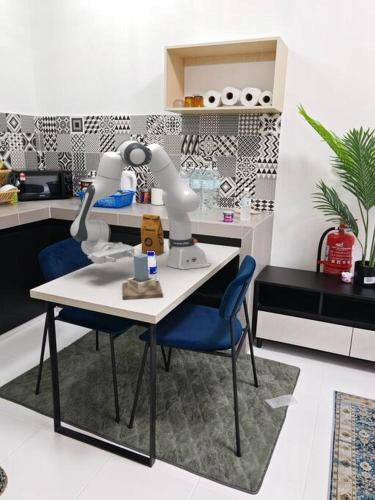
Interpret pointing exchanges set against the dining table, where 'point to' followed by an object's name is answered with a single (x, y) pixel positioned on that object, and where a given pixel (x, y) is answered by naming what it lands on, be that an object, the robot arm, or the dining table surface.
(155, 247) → the coffee package
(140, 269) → the slate peg
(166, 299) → the dining table surface
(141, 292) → the socket board
